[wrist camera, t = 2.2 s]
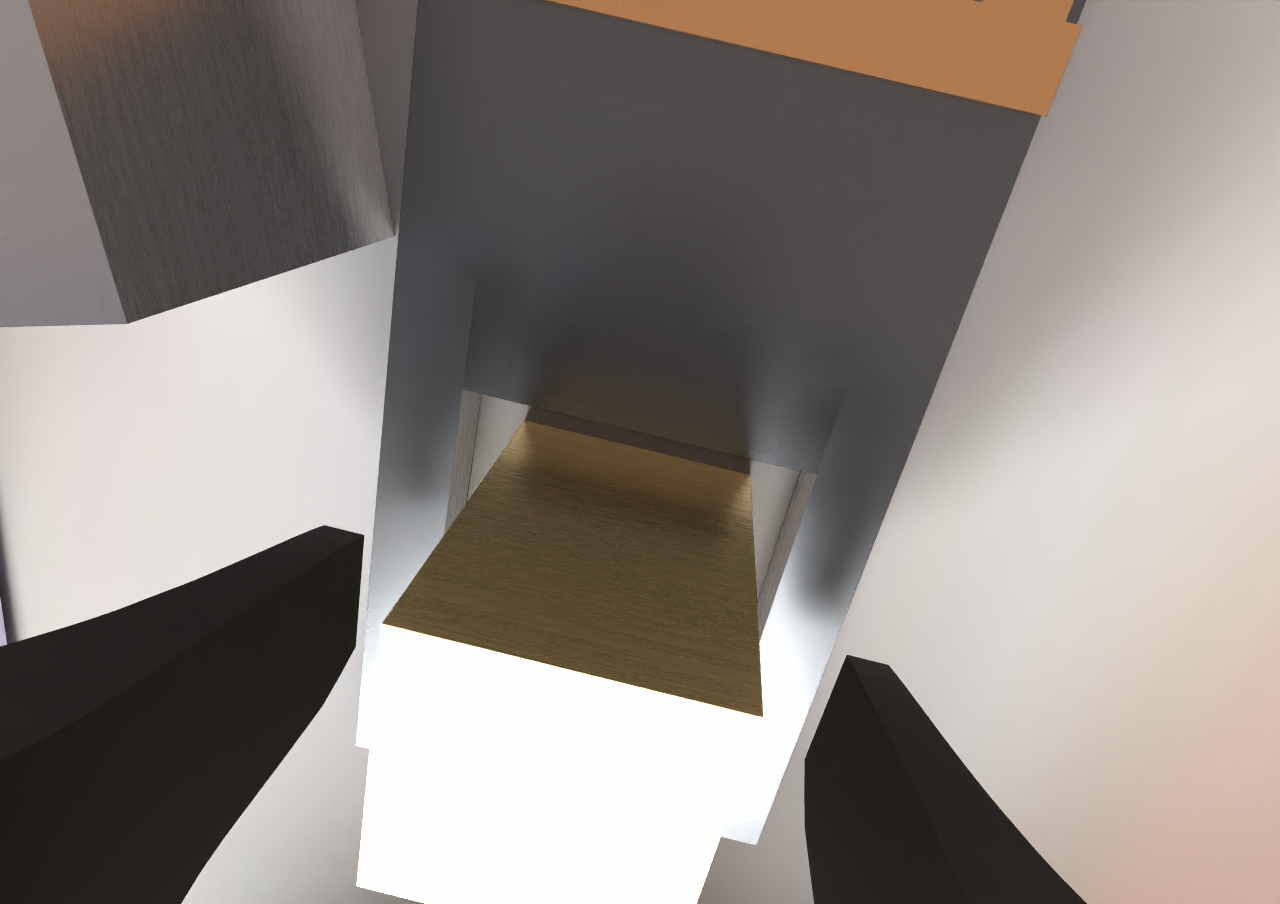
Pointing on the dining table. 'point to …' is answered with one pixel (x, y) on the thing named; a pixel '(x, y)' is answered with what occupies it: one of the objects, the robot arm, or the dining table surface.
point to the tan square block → (568, 684)
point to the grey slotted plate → (702, 261)
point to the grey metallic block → (177, 151)
